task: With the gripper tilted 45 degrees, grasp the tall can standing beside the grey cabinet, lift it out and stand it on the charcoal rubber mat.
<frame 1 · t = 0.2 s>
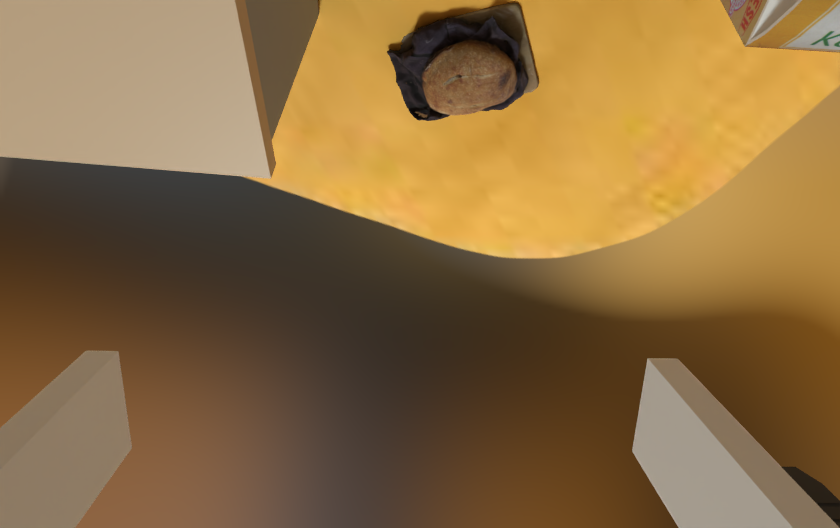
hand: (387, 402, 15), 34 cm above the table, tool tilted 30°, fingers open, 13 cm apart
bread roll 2: (463, 61, 46), on the table
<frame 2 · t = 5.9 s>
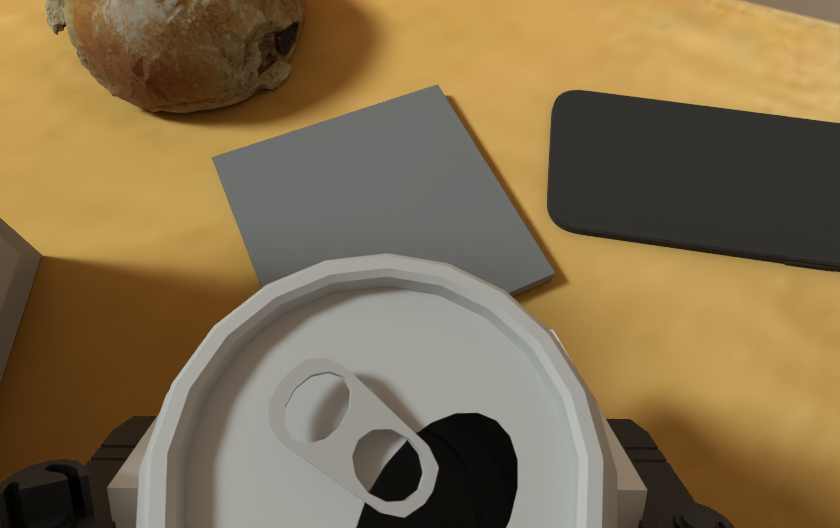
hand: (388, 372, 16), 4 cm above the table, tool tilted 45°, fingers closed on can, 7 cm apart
mat: (377, 221, 23), on the table
phone: (719, 188, 26), on the table
can: (386, 518, 19), on the table, touching gripper
bread roll: (193, 44, 28), on the table
when the fingers open (6 cm above the table, at t = 11.4 s): can drops 1 cm, resting on mat.
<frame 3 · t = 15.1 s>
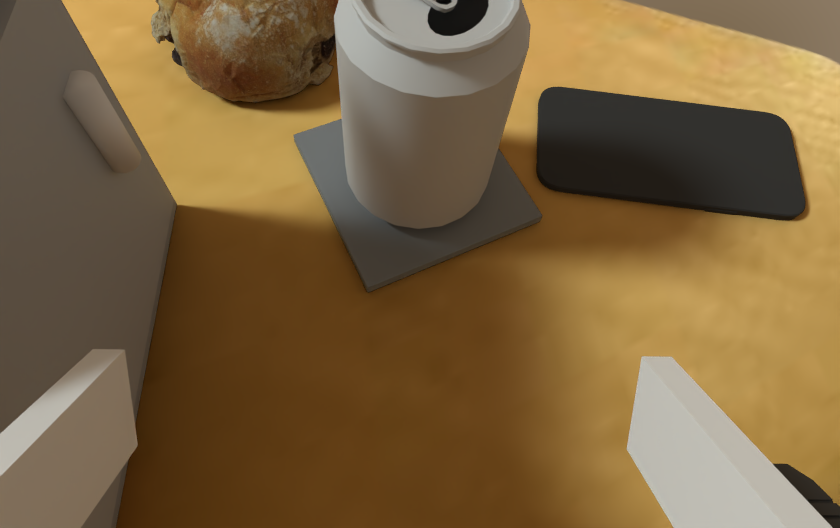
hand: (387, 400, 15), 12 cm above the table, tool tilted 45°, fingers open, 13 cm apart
mat: (414, 180, 32), on the table
phone: (661, 158, 35), on the table
cabinet: (5, 374, 26), on the table
can: (416, 178, 32), resting on mat
bread roll: (254, 49, 36), on the table
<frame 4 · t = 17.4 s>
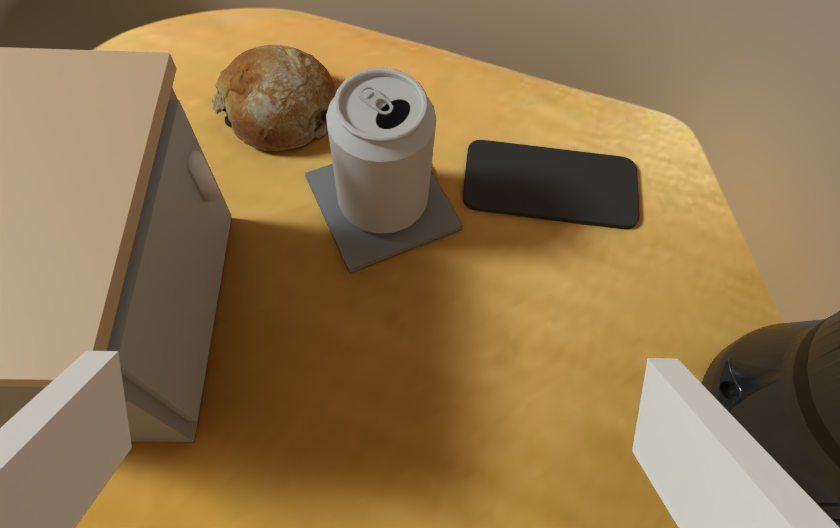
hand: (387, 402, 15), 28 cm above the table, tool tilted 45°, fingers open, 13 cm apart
mat: (382, 202, 50), on the table
phone: (549, 187, 52), on the table
cabinet: (133, 318, 45), on the table
can: (383, 201, 50), resting on mat
bread roll: (277, 114, 54), on the table
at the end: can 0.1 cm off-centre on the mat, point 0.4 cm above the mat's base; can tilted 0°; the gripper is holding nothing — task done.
